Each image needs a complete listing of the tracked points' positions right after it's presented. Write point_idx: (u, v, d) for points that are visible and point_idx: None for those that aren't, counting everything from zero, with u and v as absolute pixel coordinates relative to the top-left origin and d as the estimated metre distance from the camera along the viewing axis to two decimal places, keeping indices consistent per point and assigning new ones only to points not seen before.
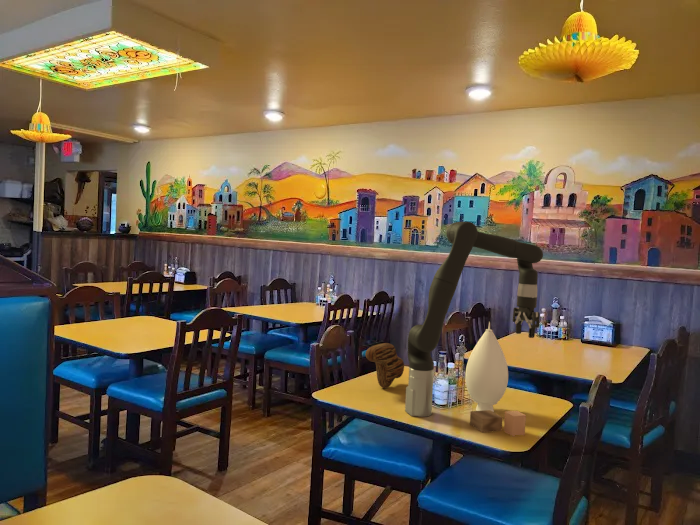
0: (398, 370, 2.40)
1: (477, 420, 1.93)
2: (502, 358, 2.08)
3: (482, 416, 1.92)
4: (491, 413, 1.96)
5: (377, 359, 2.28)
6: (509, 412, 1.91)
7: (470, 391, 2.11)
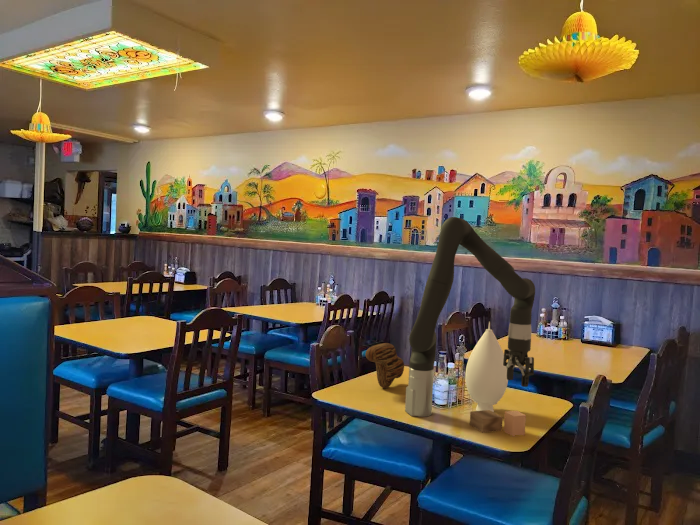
0: (398, 370, 2.40)
1: (477, 420, 1.92)
2: (502, 358, 2.08)
3: (482, 416, 1.92)
4: (491, 412, 1.96)
5: (377, 359, 2.28)
6: (509, 412, 1.91)
7: (470, 391, 2.11)
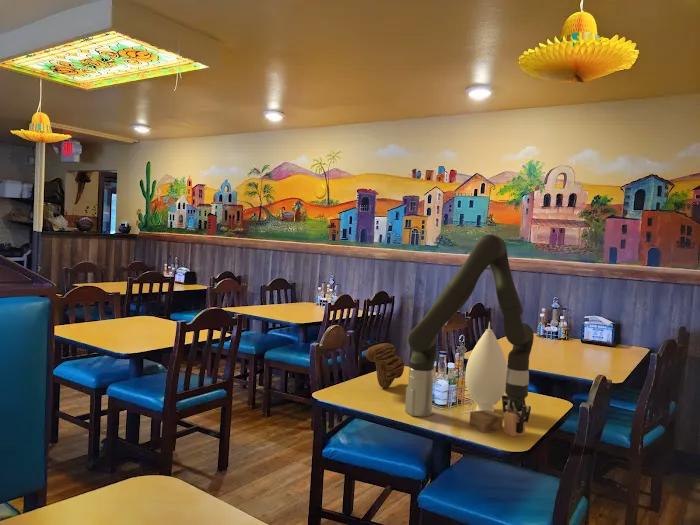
0: (398, 370, 2.40)
1: (478, 420, 1.92)
2: (502, 358, 2.08)
3: (483, 416, 1.92)
4: (490, 412, 1.96)
5: (377, 359, 2.28)
6: (509, 412, 1.91)
7: (470, 391, 2.11)
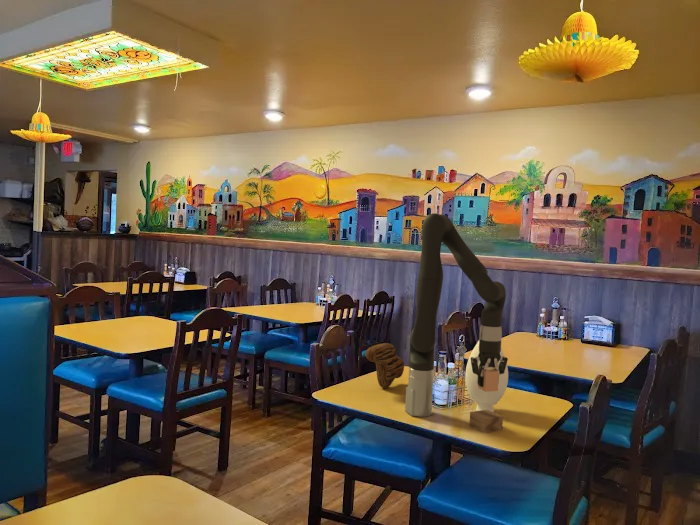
0: (398, 370, 2.40)
1: (478, 421, 1.92)
2: None
3: (483, 416, 1.91)
4: (490, 412, 1.96)
5: (377, 359, 2.28)
6: (489, 368, 1.95)
7: (470, 391, 2.11)
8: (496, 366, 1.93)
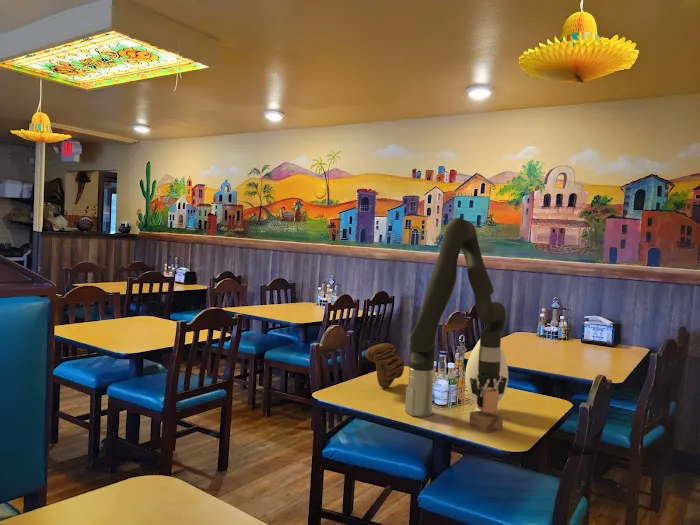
0: (398, 370, 2.40)
1: (478, 421, 1.92)
2: (502, 358, 2.08)
3: (483, 416, 1.91)
4: (490, 412, 1.96)
5: (377, 359, 2.28)
6: (489, 388, 1.96)
7: (470, 391, 2.11)
8: (495, 386, 1.93)
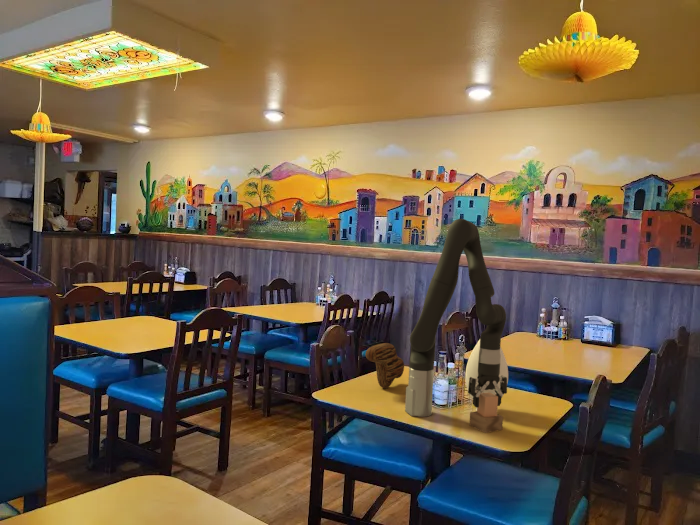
0: (398, 370, 2.40)
1: (479, 421, 1.92)
2: (502, 358, 2.08)
3: (484, 417, 1.91)
4: None
5: (377, 359, 2.28)
6: (489, 393, 1.96)
7: None
8: (497, 388, 1.93)
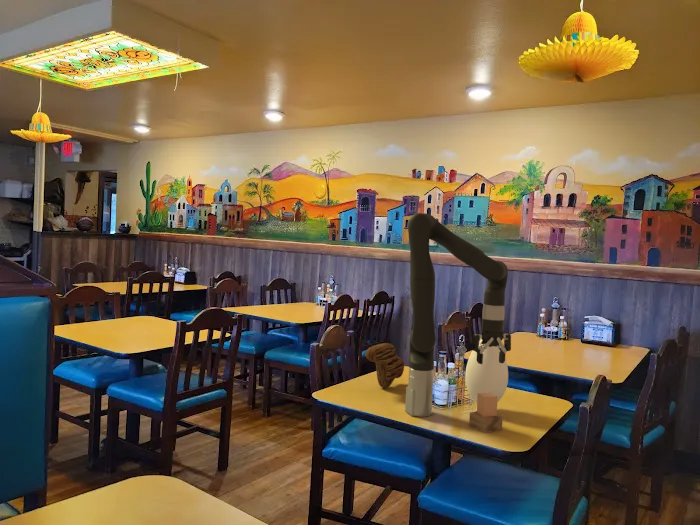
0: (398, 370, 2.40)
1: (479, 421, 1.92)
2: None
3: (484, 417, 1.91)
4: None
5: (377, 359, 2.28)
6: (488, 393, 1.96)
7: (470, 391, 2.11)
8: (501, 344, 1.92)
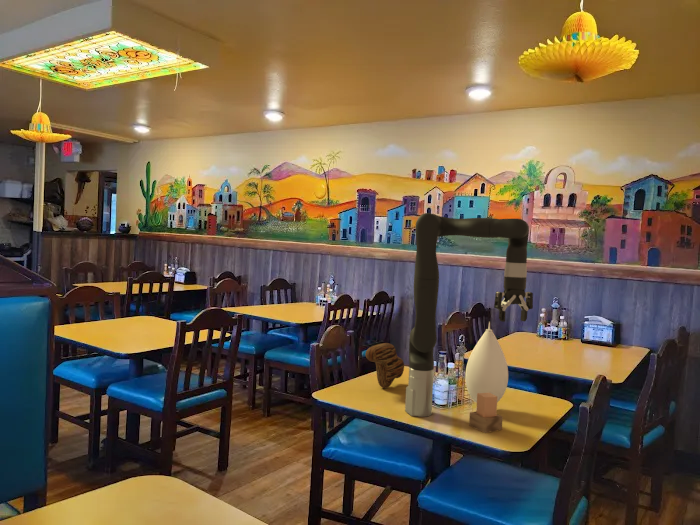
0: (398, 370, 2.40)
1: (479, 421, 1.92)
2: (502, 358, 2.08)
3: (484, 417, 1.91)
4: None
5: (377, 359, 2.28)
6: (488, 393, 1.96)
7: (470, 391, 2.11)
8: (523, 302, 1.93)
